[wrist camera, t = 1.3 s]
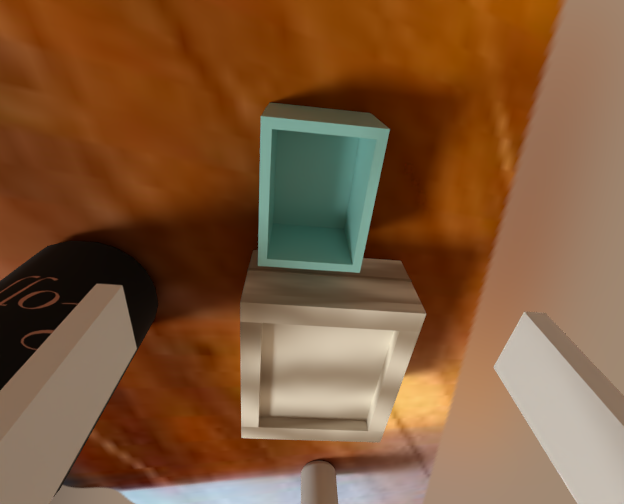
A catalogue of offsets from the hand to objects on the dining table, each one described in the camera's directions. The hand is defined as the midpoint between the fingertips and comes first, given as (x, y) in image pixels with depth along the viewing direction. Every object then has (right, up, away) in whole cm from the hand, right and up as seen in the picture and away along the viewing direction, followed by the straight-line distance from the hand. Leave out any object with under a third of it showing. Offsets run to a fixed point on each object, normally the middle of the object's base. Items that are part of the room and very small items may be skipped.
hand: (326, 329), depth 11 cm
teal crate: (0, +9, +14) cm, 17 cm away
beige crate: (0, -4, +22) cm, 22 cm away
